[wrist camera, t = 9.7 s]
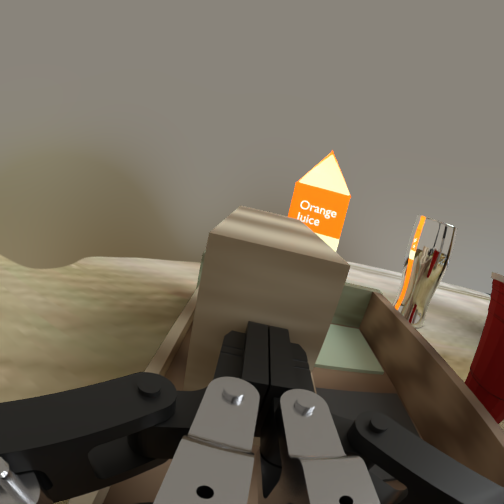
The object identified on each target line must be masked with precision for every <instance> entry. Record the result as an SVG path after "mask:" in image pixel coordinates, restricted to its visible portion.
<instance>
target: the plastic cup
mask: <svg viewBox="0 0 504 504" xmlns="http://www.w3.org/2000/svg"><path fill="white" fill-rule="evenodd" d="M491 278H492V279H493V282H492V284H493V285H492V293H491V300H490V304H489V308H488V315H487V319H486V322H485V326H484V329H483V332H482V335H481V338H480V342H479V345H478V347H477V350H476V353H475V356H474V359H473V361H472V364H471V367H470V372H469V374H468V376H467V379H466V381H465V384H466V385H467V387H468V388H469V389H470V390H471V391H472V392H473V394H474V395H475V396H476V397H477V398H478V400H479V401H480V402H481V403H482V405H483V406H484V407H485V408H486V410H487V411H488V412H489V413H490V415H491V416H492V417H493V418H494V420H495V421H496V422H497V424H499V423H500V422H501V421H503V420H504V276H502V275H500V274H497V273H493V272H492V276H491Z"/></svg>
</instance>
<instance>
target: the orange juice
mask: <svg viewBox="0 0 504 504" xmlns="http://www.w3.org/2000/svg"><path fill="white" fill-rule="evenodd" d="M350 198H351V196H350V193H349V191H348V188H347V185H346V183H345V180H344V178H343V175H342V173H341V170H340V168H339V165H338V163H337V160H336V158H335V155H334V153H333V151H332V152H331V153H330V154H329V155H328V156H327V157H325V158H324V159H323V160H322V161H321V162H319V163H318V164H317V165H316V166H315V167H314V168H313V169H311V170H310V171H309V172H308V173H307V174H306V175H305V176H303V177H302V178H301V179H300V180H299V181H298V182H296V185H295V189H294V194H293V197H292V202H291V206H290V210H289V214H288V217H291V218H295V219H299V220H301V221H302V222H303V223H304V224H305V225H306V226H308V227H309V228H310V229H311V230H312V231H313V232H314V233H315V234H317V235H318V236H319V237H320V238H321V239H322V240H323V241H324V242H325V243H326V244H328V245H329V246H330V247H331V248H332V249H333V250H334V251H335V252H336V250H337V246H338V243H339V238H340V234H341V231H342V227H343V223H344V219H345V216H346V212H347V208H348V204H349V200H350Z"/></svg>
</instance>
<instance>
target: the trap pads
mask: <svg viewBox="0 0 504 504" xmlns="http://www.w3.org/2000/svg"><path fill="white" fill-rule="evenodd" d="M315 388H316V393H317V395H319V396H320V397H322V398H323V399H324V400H325V402H326V403H327V405H328V407H329V410H330V413H332V414H334V415H337V416H340V417H343V418H347V419H350V420H354V421H355V419H356V418H357V416H358V415H359V414H360V413H362V412H365V411H376V412H380V413H383V414H385V415H387V416H388V417H390V418H391V419H393V420H394V421H396V422H397V423H398V424H400V425H401V426H403V427H404V428H406V429H407V430H409V431H410V432H412V433H413V434H415V435H416V436H418V437H419V438H420V436H419V434H418V432H417V430H416V428H415V426H414V424H413V422H412V421H411V419H410V417H409V415H408V413H407V411H406V409H405V408H404V406H403V404H402V402H401V400H400V399H399V397H398V395H397V393H373V392H358V391H345V390H335V389H325V388H317V387H315ZM369 471H371V472H372V473H373V474H375V475H376V476H377V477H379V478H380V479H381V480H383V481H384V482H387V481H394V480H397V479H395V478H394V477H392V476H391V475H389V474H388V473H387V472H385V471H384V470H383V469H381V468H380V467H378V466H377V465H376V464H375V465H374V466H373V467H372V468H371V469H370V470H369Z"/></svg>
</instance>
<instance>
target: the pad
mask: <svg viewBox="0 0 504 504" xmlns="http://www.w3.org/2000/svg"><path fill="white" fill-rule="evenodd" d="M314 367H319V368H326V369H333V370H341V371H350V372H359V373H370V374H381V375H383V373H384V370H383V369H382V367H381V365H380V364H379V362H378V360H377V359H376V357H375V355H374V353H373V352H372V350H371V348H370V347H369V345H368V343H367V342H366V340H365V338H364V337H363V335H362V334H361V332H360V330H359V329H356V328H350V327H344V326H339V325H333V324H330V327H329V330H328V332H327V335H326V338H325V340H324V343H323V345H322V348H321V350H320V353H319V355H318V358H317V360H316V363H315V365H314Z"/></svg>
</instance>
